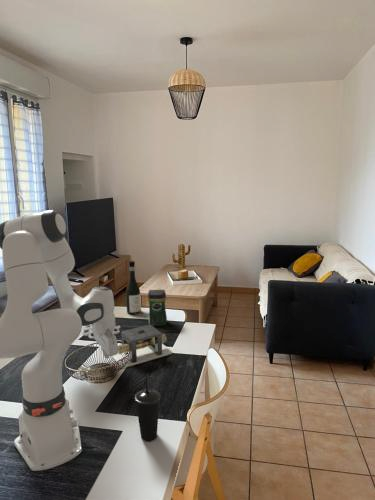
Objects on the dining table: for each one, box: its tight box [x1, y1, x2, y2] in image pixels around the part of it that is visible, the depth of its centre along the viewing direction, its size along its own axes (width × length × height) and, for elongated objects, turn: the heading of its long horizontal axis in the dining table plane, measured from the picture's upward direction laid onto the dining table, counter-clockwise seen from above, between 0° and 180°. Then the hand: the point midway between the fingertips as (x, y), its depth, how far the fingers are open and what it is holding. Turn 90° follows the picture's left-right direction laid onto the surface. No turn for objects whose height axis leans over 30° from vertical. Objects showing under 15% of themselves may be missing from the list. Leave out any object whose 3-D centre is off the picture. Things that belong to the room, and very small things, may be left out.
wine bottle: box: [125, 260, 142, 315], centre depth 213 cm, size 8×8×30 cm
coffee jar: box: [147, 289, 168, 327], centre depth 198 cm, size 10×8×19 cm
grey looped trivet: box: [81, 323, 121, 340], centre depth 192 cm, size 20×20×2 cm
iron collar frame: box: [121, 324, 163, 363], centre depth 164 cm, size 14×11×10 cm
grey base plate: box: [111, 343, 173, 369], centre depth 165 cm, size 24×11×1 cm, turn 122°
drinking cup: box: [134, 375, 161, 443], centre depth 113 cm, size 8×8×20 cm
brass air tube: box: [117, 333, 168, 355], centre depth 164 cm, size 22×4×4 cm, turn 122°
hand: (106, 357), depth 156 cm, fingers closed
